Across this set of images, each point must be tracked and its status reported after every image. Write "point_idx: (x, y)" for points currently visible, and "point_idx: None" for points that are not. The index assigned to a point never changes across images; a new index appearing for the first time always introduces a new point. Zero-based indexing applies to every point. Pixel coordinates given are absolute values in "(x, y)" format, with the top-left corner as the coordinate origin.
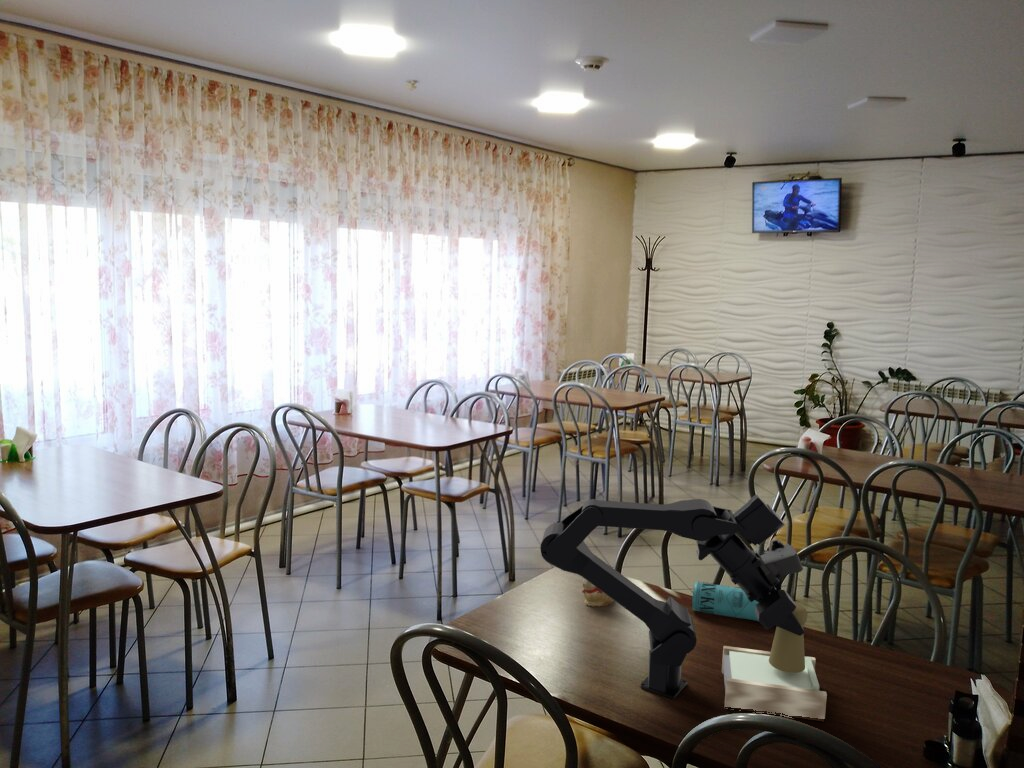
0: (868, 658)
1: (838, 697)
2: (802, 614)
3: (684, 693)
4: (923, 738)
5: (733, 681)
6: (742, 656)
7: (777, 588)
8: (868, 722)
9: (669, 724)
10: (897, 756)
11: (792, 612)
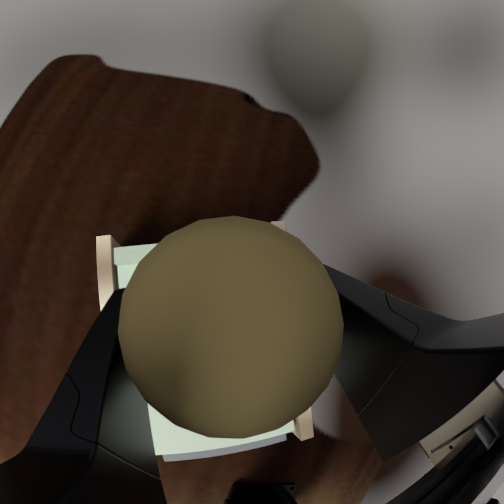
0: (16, 151)
1: (155, 204)
2: (310, 251)
3: (267, 477)
4: (244, 103)
5: (311, 425)
6: (166, 427)
7: (97, 502)
8: (229, 164)
9: (358, 459)
10: (308, 146)
11: (429, 315)
